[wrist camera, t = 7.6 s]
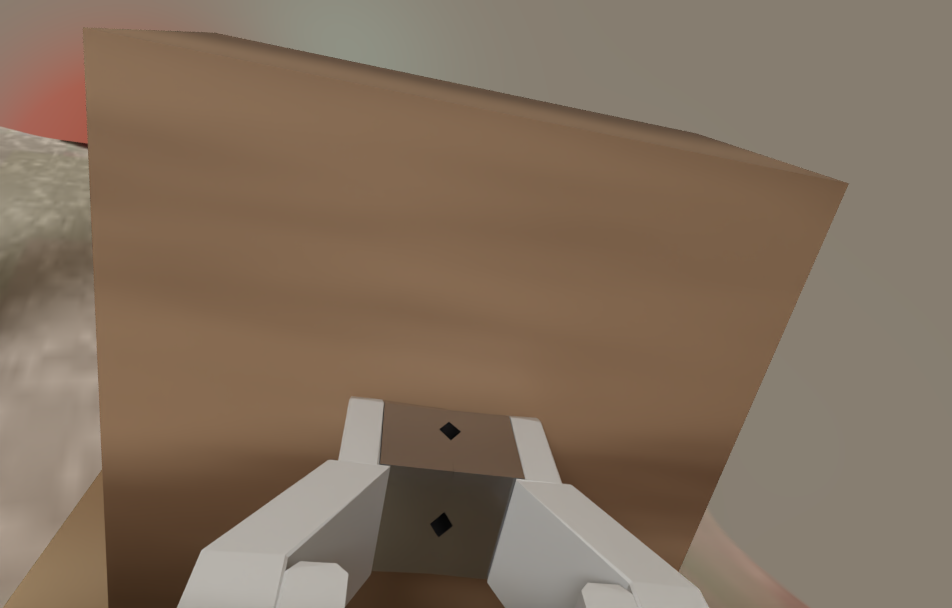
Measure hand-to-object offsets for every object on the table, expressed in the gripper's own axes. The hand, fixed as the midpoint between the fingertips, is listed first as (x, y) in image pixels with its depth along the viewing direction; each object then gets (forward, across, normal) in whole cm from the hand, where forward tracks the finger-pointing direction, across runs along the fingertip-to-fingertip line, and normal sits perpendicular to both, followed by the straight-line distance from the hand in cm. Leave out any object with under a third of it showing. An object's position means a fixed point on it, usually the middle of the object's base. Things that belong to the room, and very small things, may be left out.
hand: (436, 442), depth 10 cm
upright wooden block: (+5, 0, +5) cm, 7 cm away
